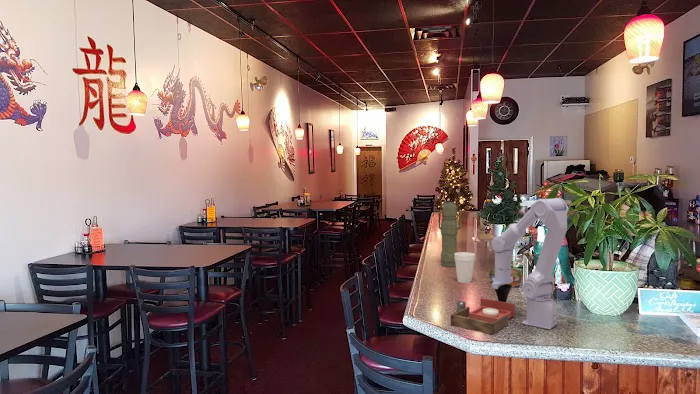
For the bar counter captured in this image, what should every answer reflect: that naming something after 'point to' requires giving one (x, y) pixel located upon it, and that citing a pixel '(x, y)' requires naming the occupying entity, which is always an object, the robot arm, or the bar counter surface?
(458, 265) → the foam cup
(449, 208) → the thermos
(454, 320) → the cabinet
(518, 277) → the tin
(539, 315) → the robot arm
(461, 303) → the cylinder
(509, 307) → the drawer
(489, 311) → the white dome
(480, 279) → the bar counter surface
